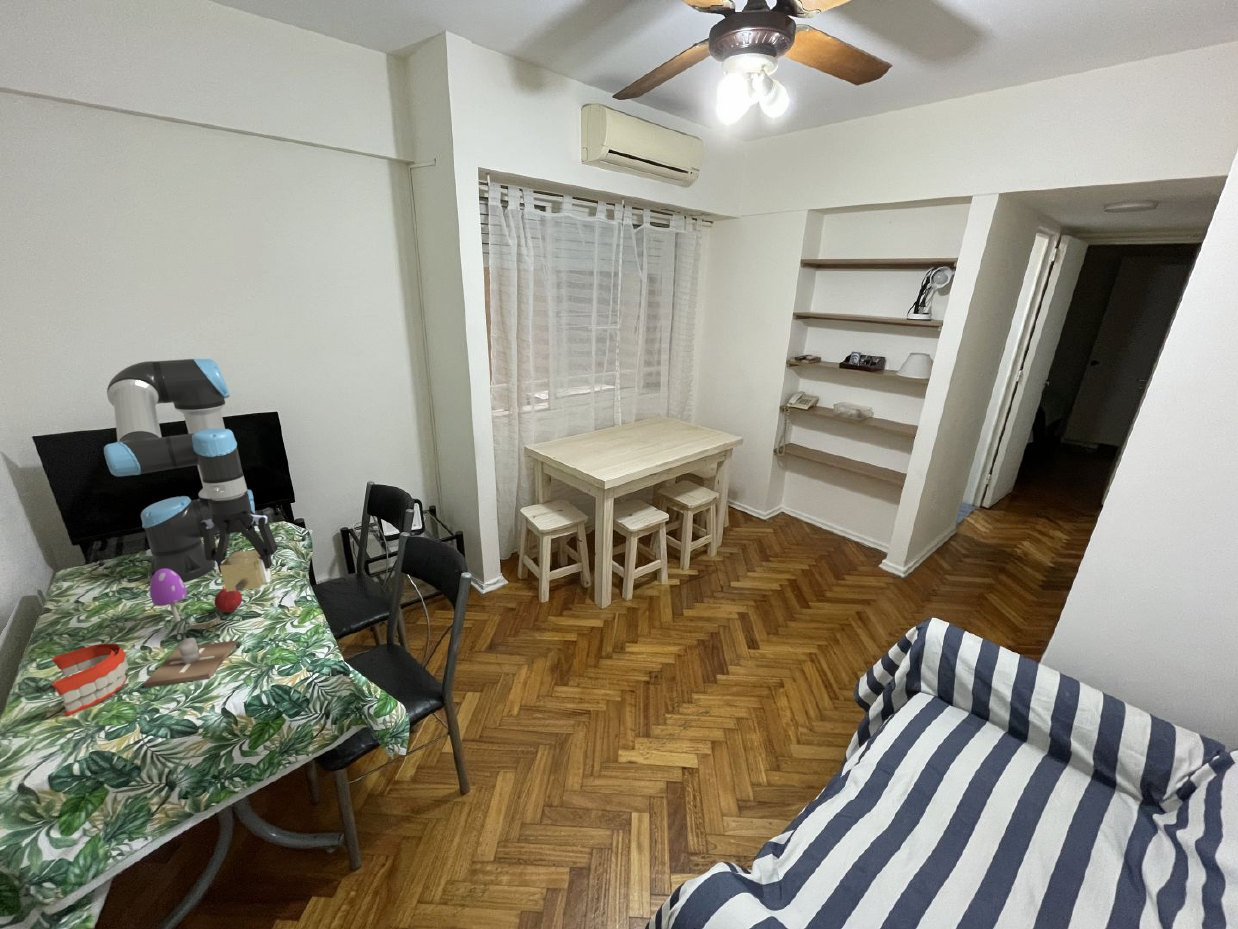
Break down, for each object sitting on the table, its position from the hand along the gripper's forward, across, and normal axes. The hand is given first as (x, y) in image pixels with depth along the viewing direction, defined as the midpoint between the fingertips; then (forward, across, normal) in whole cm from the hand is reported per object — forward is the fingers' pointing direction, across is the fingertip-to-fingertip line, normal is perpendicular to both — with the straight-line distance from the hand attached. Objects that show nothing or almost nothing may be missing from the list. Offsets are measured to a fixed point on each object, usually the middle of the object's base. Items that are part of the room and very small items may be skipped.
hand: (249, 581), depth 122 cm
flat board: (+13, -9, -13) cm, 20 cm away
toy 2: (+14, -23, +8) cm, 28 cm away
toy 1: (+14, -24, -17) cm, 32 cm away
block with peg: (0, 0, 0) cm, 0 cm away
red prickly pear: (+14, -11, +9) cm, 20 cm away
